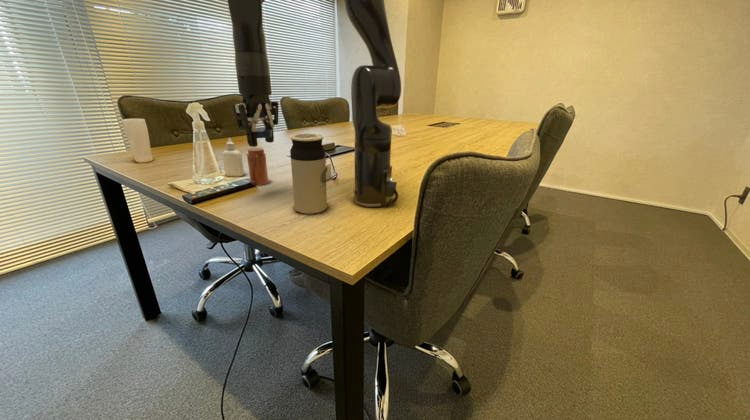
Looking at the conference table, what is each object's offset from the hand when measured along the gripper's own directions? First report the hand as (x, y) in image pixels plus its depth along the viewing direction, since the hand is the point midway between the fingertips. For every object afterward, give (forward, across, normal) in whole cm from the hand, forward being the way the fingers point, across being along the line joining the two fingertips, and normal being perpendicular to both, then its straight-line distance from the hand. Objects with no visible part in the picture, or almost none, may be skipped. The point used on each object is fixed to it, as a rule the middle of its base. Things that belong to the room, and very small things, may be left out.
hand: (261, 143), depth 79 cm
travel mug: (+14, +4, +17) cm, 22 cm away
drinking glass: (+14, -9, -63) cm, 65 cm away
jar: (+14, -7, -9) cm, 18 cm away
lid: (-3, 0, 0) cm, 3 cm away
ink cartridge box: (+14, -15, +7) cm, 22 cm away
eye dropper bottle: (+14, -10, -21) cm, 27 cm away
